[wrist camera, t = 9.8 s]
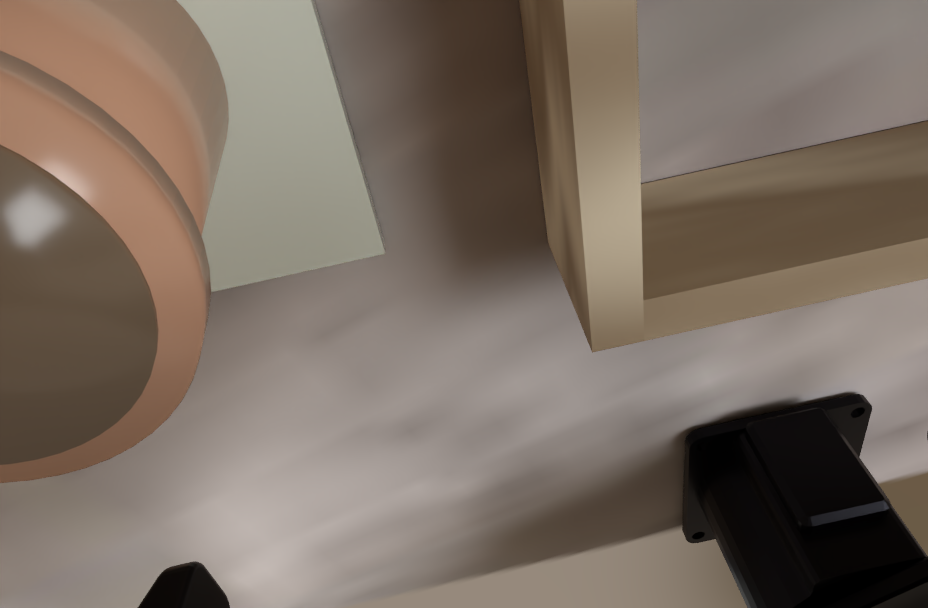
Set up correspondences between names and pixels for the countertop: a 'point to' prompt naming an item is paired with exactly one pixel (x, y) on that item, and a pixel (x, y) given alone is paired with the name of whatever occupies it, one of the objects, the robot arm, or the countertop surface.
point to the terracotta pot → (101, 224)
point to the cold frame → (702, 199)
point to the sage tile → (281, 148)
